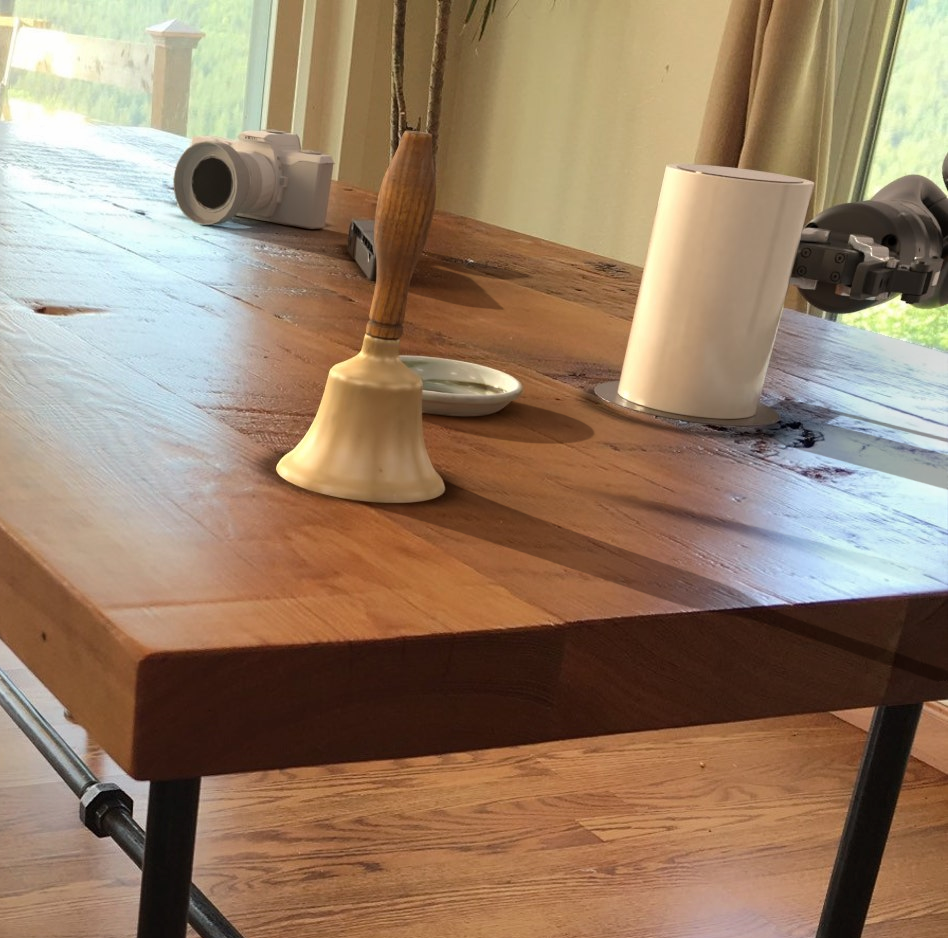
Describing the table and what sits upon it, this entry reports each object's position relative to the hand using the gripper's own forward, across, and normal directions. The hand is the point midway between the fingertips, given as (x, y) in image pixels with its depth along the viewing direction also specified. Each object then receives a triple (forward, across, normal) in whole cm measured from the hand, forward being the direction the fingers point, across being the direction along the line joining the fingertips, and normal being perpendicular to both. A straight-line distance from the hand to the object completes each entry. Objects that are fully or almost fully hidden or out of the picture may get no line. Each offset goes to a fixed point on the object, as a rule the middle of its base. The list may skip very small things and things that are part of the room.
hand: (792, 271), depth 108 cm
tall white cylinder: (+13, 0, +7) cm, 14 cm away
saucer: (+29, -10, +8) cm, 32 cm away
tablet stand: (-17, -40, +8) cm, 45 cm away
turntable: (+15, 0, +8) cm, 17 cm away
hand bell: (+46, -5, +8) cm, 47 cm away
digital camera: (-29, -64, +8) cm, 70 cm away
